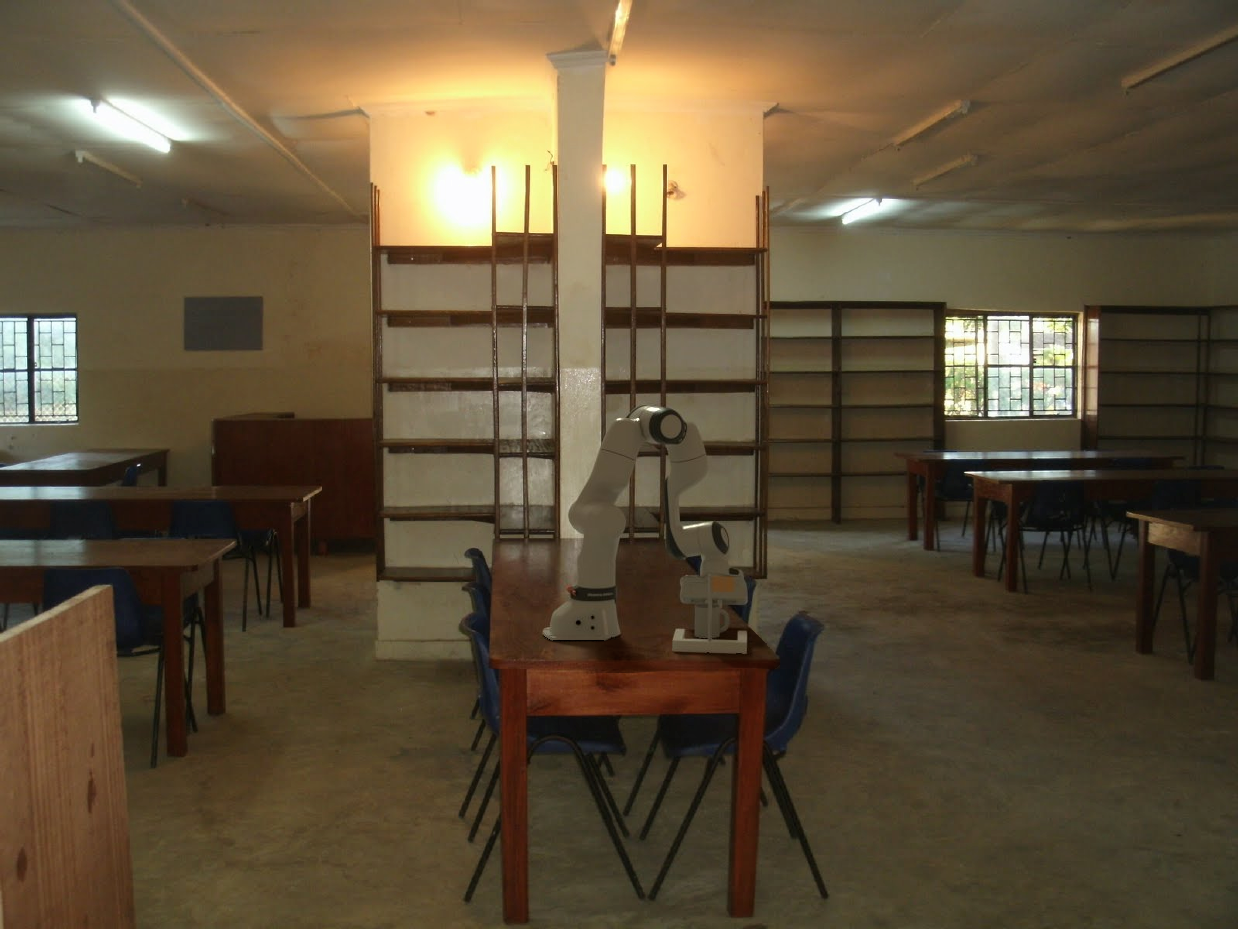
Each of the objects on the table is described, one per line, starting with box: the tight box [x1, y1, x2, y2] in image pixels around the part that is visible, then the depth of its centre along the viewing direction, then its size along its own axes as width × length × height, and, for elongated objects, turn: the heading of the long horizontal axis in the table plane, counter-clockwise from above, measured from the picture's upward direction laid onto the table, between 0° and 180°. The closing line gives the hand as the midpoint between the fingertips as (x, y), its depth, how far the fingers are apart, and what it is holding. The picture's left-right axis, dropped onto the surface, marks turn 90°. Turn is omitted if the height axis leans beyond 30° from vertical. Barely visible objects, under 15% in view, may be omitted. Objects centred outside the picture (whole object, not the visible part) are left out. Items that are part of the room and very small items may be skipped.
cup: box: [694, 603, 731, 639], centre depth 310 cm, size 7×10×9 cm
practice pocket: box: [671, 574, 748, 655], centre depth 297 cm, size 14×20×21 cm
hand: (713, 614), depth 319 cm, fingers closed
